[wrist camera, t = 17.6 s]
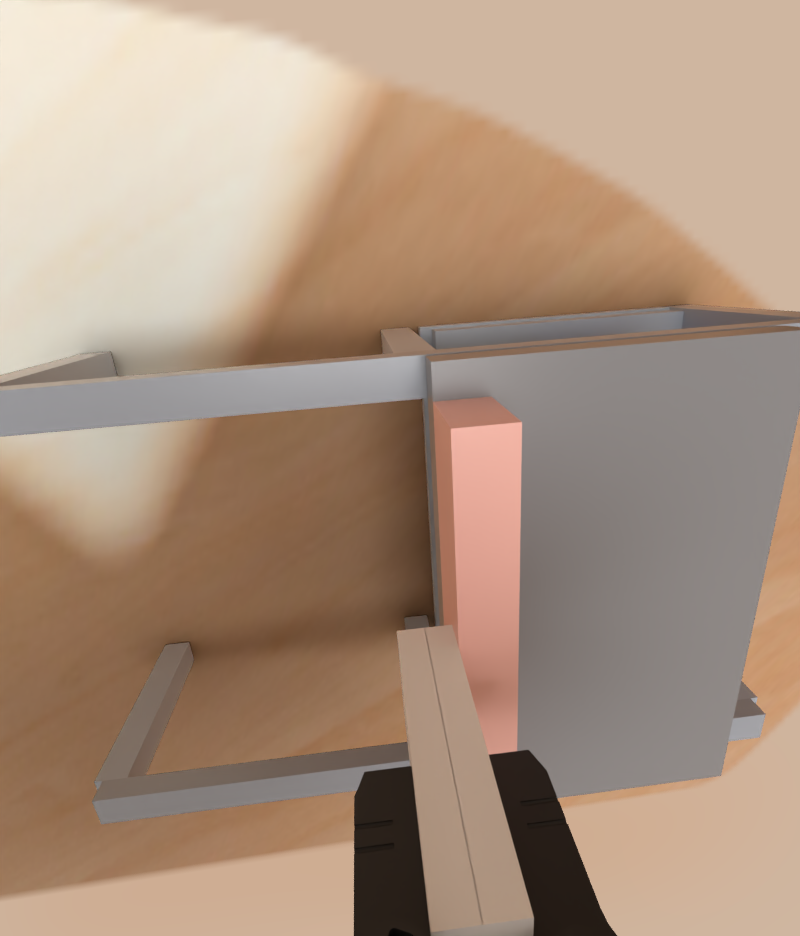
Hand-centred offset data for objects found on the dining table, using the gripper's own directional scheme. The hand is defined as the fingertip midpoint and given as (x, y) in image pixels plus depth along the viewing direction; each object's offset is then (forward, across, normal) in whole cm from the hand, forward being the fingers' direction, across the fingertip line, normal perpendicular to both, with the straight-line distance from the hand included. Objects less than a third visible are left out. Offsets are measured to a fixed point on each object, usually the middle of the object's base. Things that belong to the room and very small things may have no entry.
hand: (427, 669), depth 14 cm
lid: (+3, +6, 0) cm, 6 cm away
